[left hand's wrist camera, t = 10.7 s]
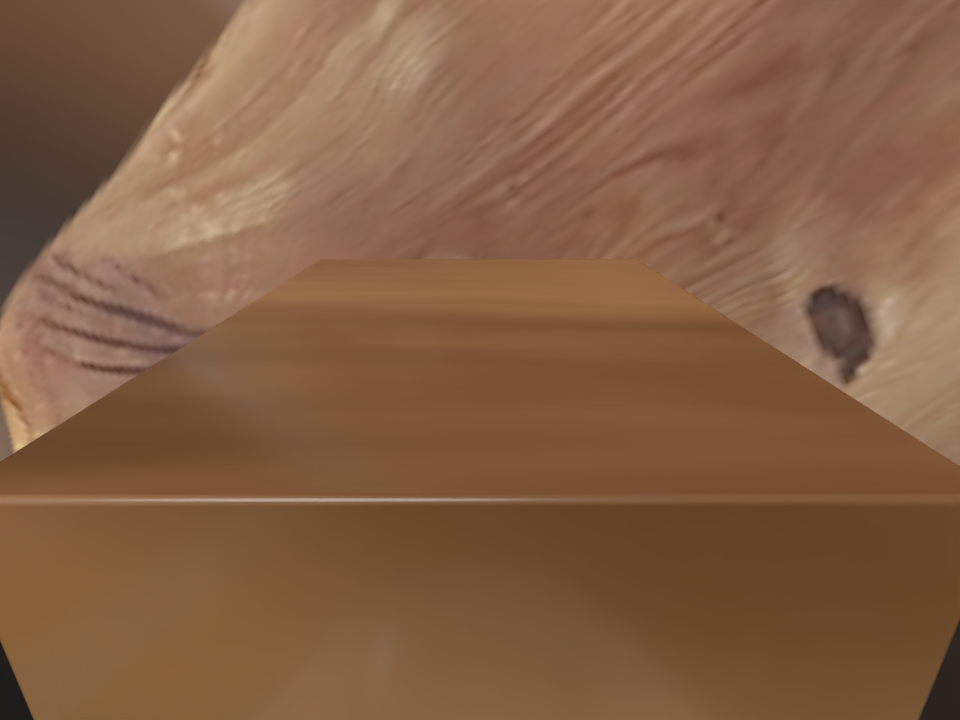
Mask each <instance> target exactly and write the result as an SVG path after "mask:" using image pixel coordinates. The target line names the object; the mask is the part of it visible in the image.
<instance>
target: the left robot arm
mask: <svg viewBox="0 0 960 720" xmlns="http://www.w3.org/2000/svg"><path fill="white" fill-rule="evenodd" d="M0 720H33V717H32V715H31V712H30V710H29V708H28V705H27V703H26V701H25V698H24V696H23V694H22V691H21V689H20V686H19V684H18V682H17V679H16V677H15V675H14V672H13V670H12V668H11V665H10V663H9V660H8V658H7V656H6V653H5V651H4V649H3V646H2V644H1V642H0ZM919 720H960V622H959V625H958V627H957V629H956V632H955V634H954V637H953V639H952V642H951V644H950V646H949V649H948V651H947V654H946V656H945V658H944V661H943V663H942V666H941V668H940V671H939V673H938V675H937V678H936V680H935V683H934V685H933V687H932V690H931V692H930V695H929V697H928V700H927V702H926V704H925V707H924V709H923V712H922V714H921V717H920V719H919Z"/></svg>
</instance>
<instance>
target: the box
mask: <svg viewBox="0 0 960 720" xmlns="http://www.w3.org/2000/svg"><path fill="white" fill-rule="evenodd" d="M959 622H960V466H958V465H957V464H955V463H954V462H952V461H951V460H949V459H948V458H946V457H944V456H943V455H941V454H940V453H938V452H937V451H935V450H933V449H932V448H930V447H929V446H927V445H926V444H924V443H923V442H921V441H919V440H918V439H916V438H915V437H913V436H912V435H910V434H908V433H907V432H905V431H904V430H902V429H901V428H899V427H898V426H896V425H894V424H893V423H891V422H890V421H888V420H887V419H885V418H883V417H882V416H880V415H879V414H877V413H876V412H874V411H873V410H871V409H869V408H868V407H866V406H865V405H863V404H862V403H860V402H858V401H857V400H855V399H854V398H852V397H851V396H849V395H848V394H846V393H844V392H843V391H841V390H840V389H838V388H837V387H835V386H833V385H832V384H830V383H829V382H827V381H826V380H824V379H823V378H821V377H819V376H818V375H816V374H815V373H813V372H812V371H810V370H808V369H807V368H805V367H804V366H802V365H801V364H799V363H798V362H796V361H794V360H793V359H791V358H790V357H788V356H787V355H785V354H783V353H782V352H780V351H779V350H777V349H776V348H774V347H773V346H771V345H769V344H768V343H766V342H765V341H763V340H762V339H760V338H758V337H757V336H755V335H754V334H752V333H751V332H749V331H748V330H746V329H744V328H743V327H741V326H740V325H738V324H737V323H735V322H733V321H732V320H730V319H729V318H727V317H726V316H724V315H723V314H721V313H719V312H718V311H716V310H715V309H713V308H712V307H710V306H708V305H707V304H705V303H704V302H702V301H701V300H699V299H698V298H696V297H694V296H693V295H691V294H690V293H688V292H687V291H685V290H683V289H682V288H680V287H679V286H677V285H676V284H674V283H673V282H671V281H669V280H668V279H666V278H665V277H663V276H662V275H660V274H658V273H657V272H655V271H654V270H652V269H651V268H649V267H648V266H646V265H644V264H643V263H641V262H640V261H638V260H636V259H322V260H320V261H318V262H317V263H315V264H313V265H312V266H310V267H309V268H307V269H305V270H304V271H302V272H301V273H299V274H298V275H296V276H294V277H293V278H291V279H290V280H288V281H286V282H285V283H283V284H282V285H280V286H278V287H277V288H275V289H274V290H272V291H271V292H269V293H267V294H266V295H264V296H263V297H261V298H259V299H258V300H256V301H255V302H253V303H252V304H250V305H248V306H247V307H245V308H244V309H242V310H240V311H239V312H237V313H236V314H234V315H233V316H231V317H229V318H228V319H226V320H225V321H223V322H221V323H220V324H218V325H217V326H215V327H213V328H212V329H210V330H209V331H207V332H206V333H204V334H202V335H201V336H199V337H198V338H196V339H194V340H193V341H191V342H190V343H188V344H187V345H185V346H183V347H182V348H180V349H179V350H177V351H175V352H174V353H172V354H171V355H169V356H168V357H166V358H164V359H163V360H161V361H160V362H158V363H156V364H155V365H153V366H152V367H150V368H149V369H147V370H145V371H144V372H142V373H141V374H139V375H137V376H136V377H134V378H133V379H131V380H129V381H128V382H126V383H125V384H123V385H122V386H120V387H118V388H117V389H115V390H114V391H112V392H110V393H109V394H107V395H106V396H104V397H103V398H101V399H99V400H98V401H96V402H95V403H93V404H91V405H90V406H88V407H87V408H85V409H84V410H82V411H80V412H79V413H77V414H76V415H74V416H72V417H71V418H69V419H68V420H66V421H64V422H63V423H61V424H60V425H58V426H57V427H55V428H53V429H52V430H50V431H49V432H47V433H45V434H44V435H42V436H41V437H39V438H38V439H36V440H34V441H33V442H31V443H30V444H28V445H26V446H25V447H23V448H22V449H20V450H19V451H17V452H15V453H14V454H12V455H11V456H9V457H7V458H6V459H4V460H3V461H1V462H0V642H1V644H2V646H3V649H4V651H5V653H6V656H7V658H8V660H9V663H10V665H11V668H12V670H13V672H14V675H15V677H16V679H17V682H18V684H19V686H20V689H21V691H22V694H23V696H24V698H25V701H26V703H27V705H28V708H29V710H30V712H31V715H32V717H33V720H919V719H920V717H921V714H922V712H923V709H924V707H925V704H926V702H927V700H928V697H929V695H930V692H931V690H932V687H933V685H934V683H935V680H936V678H937V675H938V673H939V671H940V668H941V666H942V663H943V661H944V658H945V656H946V654H947V651H948V649H949V646H950V644H951V642H952V639H953V637H954V634H955V632H956V629H957V627H958V625H959Z"/></svg>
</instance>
